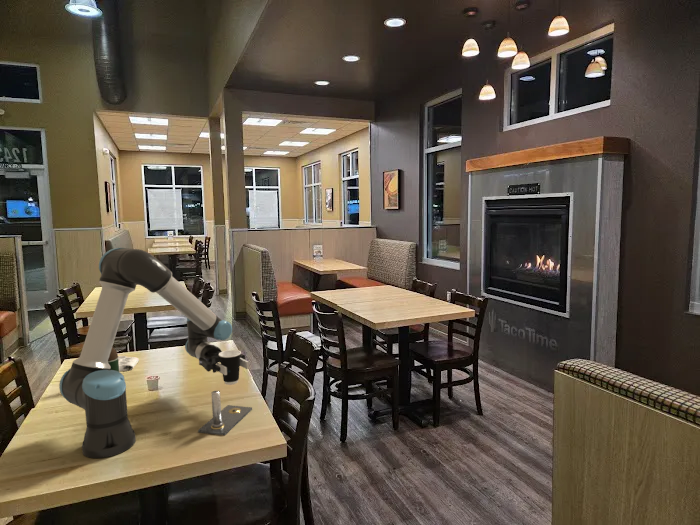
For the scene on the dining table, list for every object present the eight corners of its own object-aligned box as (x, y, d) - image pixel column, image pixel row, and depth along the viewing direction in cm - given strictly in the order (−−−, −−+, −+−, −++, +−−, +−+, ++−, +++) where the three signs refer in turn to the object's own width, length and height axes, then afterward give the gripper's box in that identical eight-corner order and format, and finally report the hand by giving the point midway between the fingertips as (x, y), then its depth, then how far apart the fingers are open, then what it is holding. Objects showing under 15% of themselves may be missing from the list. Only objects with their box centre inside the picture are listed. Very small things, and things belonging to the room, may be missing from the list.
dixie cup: (242, 377, 173) (241, 348, 171) (242, 385, 165) (240, 355, 164) (220, 379, 171) (219, 350, 170) (219, 387, 163) (217, 357, 162)
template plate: (224, 435, 152) (224, 432, 152) (198, 432, 155) (198, 429, 155) (252, 409, 171) (252, 407, 171) (228, 407, 174) (227, 404, 174)
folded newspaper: (131, 373, 213) (97, 376, 210) (140, 360, 231) (109, 363, 228) (130, 366, 213) (96, 369, 210) (140, 354, 230) (108, 356, 227)
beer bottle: (119, 385, 198) (114, 330, 195) (98, 387, 195) (94, 332, 192) (120, 378, 205) (116, 326, 202) (101, 381, 202) (96, 328, 199)
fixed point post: (219, 428, 155) (217, 394, 154) (210, 427, 156) (208, 393, 154) (225, 423, 158) (223, 390, 157) (215, 422, 159) (213, 389, 158)
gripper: (233, 356, 188) (262, 371, 171) (183, 369, 174) (210, 386, 157) (232, 339, 187) (261, 351, 170) (182, 350, 173) (208, 365, 156)
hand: (236, 368), depth 164 cm, fingers closed on dixie cup, 8 cm apart
